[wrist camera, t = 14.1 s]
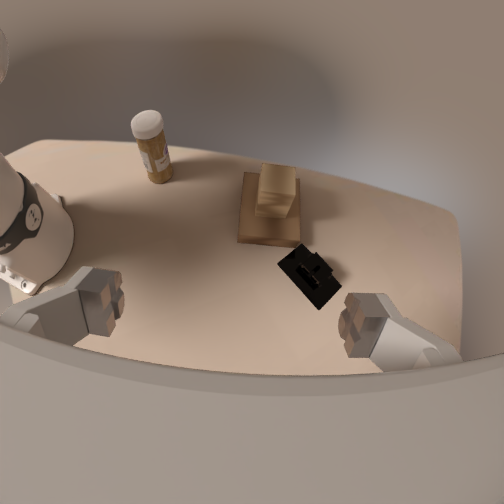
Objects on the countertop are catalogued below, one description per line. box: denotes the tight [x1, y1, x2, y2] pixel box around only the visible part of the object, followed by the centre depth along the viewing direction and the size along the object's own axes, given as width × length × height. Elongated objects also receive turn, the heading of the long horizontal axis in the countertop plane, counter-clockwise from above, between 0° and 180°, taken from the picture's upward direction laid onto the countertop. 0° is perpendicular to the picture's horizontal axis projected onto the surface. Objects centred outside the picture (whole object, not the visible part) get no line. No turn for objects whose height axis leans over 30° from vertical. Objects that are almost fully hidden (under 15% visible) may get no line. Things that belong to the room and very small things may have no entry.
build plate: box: [277, 244, 342, 310], centre depth 42 cm, size 12×7×5 cm, turn 41°
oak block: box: [255, 163, 296, 219], centre depth 41 cm, size 4×4×7 cm
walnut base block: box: [237, 172, 300, 248], centre depth 45 cm, size 9×11×3 cm
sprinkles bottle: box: [131, 110, 173, 184], centre depth 41 cm, size 5×5×14 cm
